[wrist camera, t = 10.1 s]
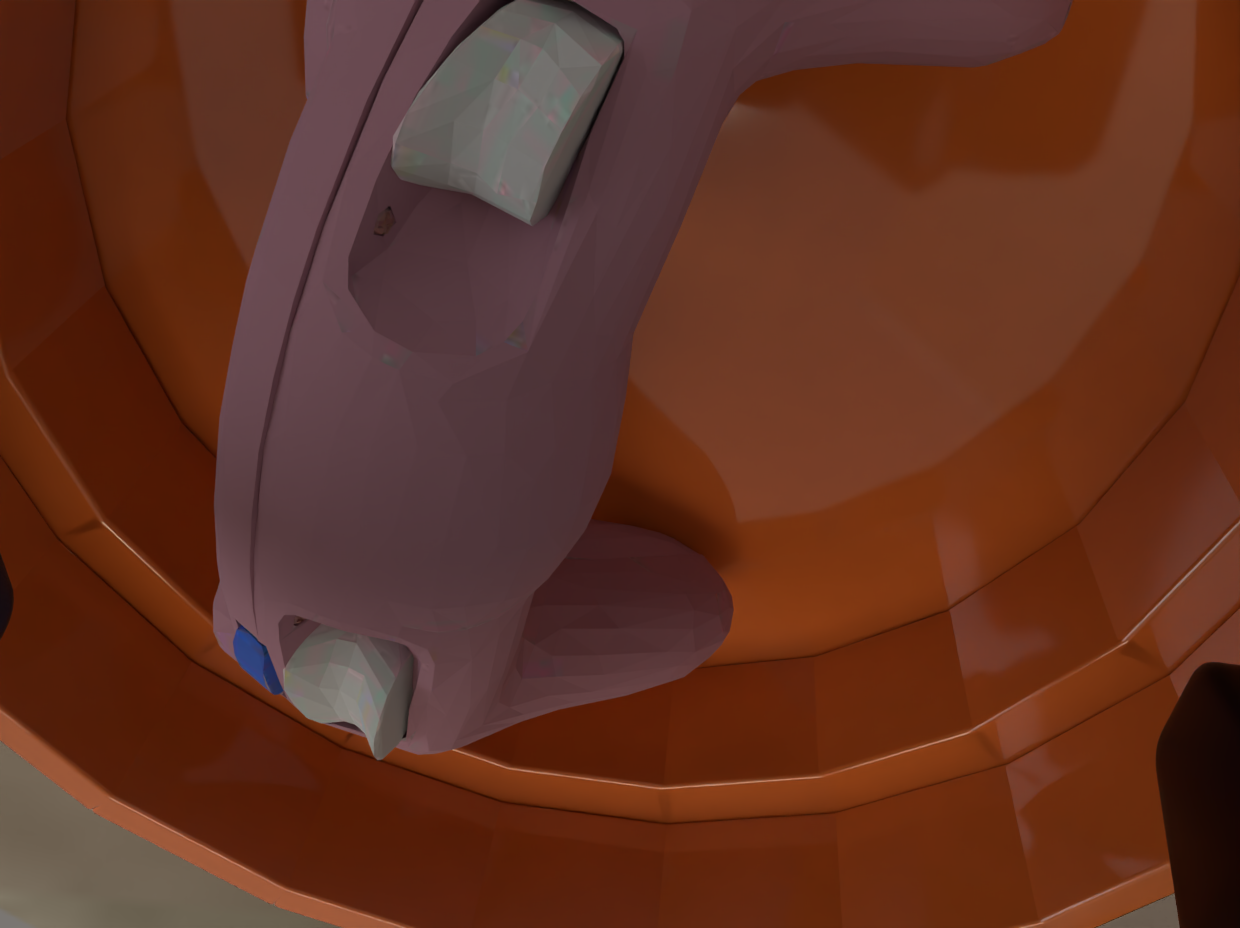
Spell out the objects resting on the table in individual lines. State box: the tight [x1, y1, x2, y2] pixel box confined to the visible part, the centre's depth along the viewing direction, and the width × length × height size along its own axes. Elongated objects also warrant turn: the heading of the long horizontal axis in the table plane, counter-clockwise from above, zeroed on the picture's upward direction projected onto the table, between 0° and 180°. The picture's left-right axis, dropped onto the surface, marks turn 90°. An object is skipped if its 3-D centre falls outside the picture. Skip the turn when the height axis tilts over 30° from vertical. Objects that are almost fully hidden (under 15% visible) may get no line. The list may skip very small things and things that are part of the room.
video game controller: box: [213, 0, 1073, 760], centre depth 11 cm, size 10×5×7 cm, turn 162°
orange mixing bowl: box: [0, 0, 1240, 928], centre depth 11 cm, size 16×16×5 cm
